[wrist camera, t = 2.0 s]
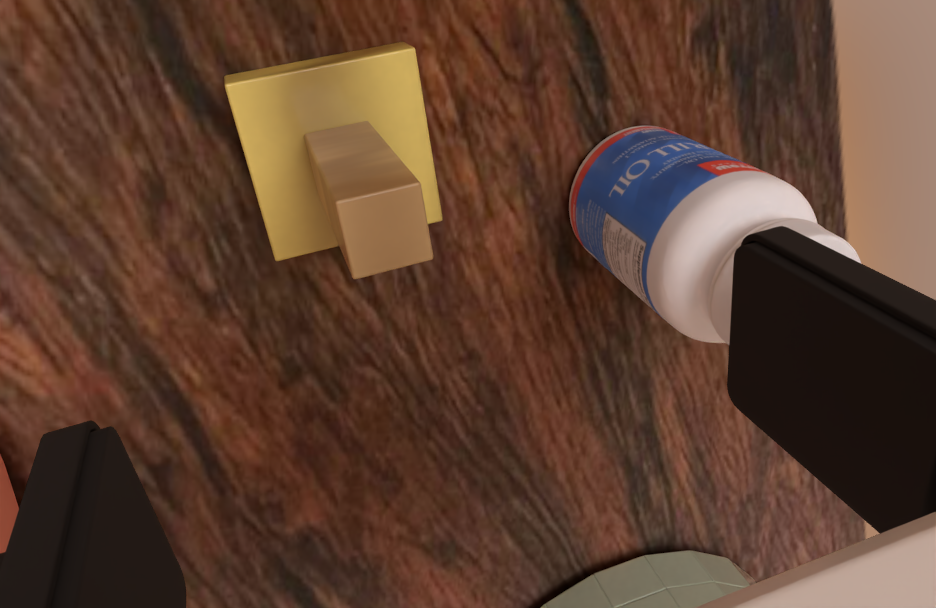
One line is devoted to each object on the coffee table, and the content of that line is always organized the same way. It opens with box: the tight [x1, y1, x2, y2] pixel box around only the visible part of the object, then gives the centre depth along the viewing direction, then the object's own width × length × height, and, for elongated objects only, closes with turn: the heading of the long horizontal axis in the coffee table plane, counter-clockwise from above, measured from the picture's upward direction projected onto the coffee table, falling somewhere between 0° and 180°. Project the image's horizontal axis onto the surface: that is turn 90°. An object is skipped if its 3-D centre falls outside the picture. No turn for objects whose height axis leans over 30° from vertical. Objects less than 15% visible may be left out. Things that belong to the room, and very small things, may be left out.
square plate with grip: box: [224, 42, 442, 279], centre depth 20 cm, size 6×6×8 cm
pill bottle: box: [569, 126, 861, 345], centre depth 24 cm, size 6×5×10 cm
